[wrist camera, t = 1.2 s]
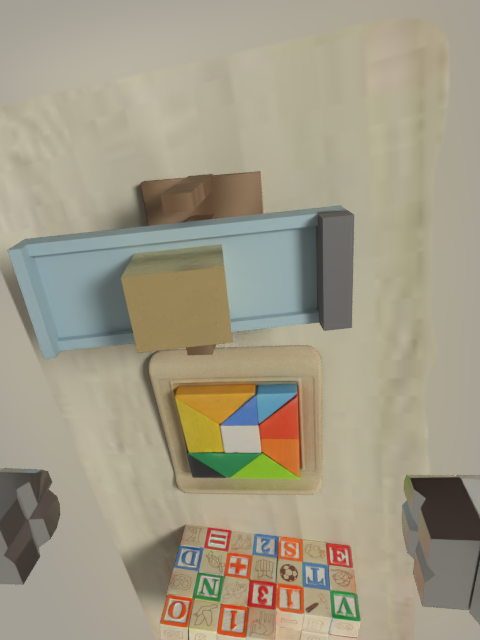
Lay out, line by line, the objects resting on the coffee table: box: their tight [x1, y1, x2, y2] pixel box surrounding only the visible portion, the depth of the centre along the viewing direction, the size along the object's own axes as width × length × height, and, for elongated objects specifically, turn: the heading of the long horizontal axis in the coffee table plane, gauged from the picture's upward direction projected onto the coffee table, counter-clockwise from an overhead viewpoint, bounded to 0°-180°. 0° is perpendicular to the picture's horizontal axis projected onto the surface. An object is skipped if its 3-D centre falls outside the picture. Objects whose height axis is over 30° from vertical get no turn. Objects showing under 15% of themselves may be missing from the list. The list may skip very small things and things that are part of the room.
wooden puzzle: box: [148, 345, 323, 495], centre depth 46 cm, size 18×19×4 cm
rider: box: [121, 244, 233, 353], centre depth 28 cm, size 6×5×5 cm
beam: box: [8, 206, 354, 359], centre depth 30 cm, size 22×8×3 cm, turn 95°
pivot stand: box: [141, 171, 263, 355], centre depth 35 cm, size 10×12×9 cm
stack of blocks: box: [160, 525, 361, 640], centre depth 51 cm, size 21×6×12 cm, turn 88°
